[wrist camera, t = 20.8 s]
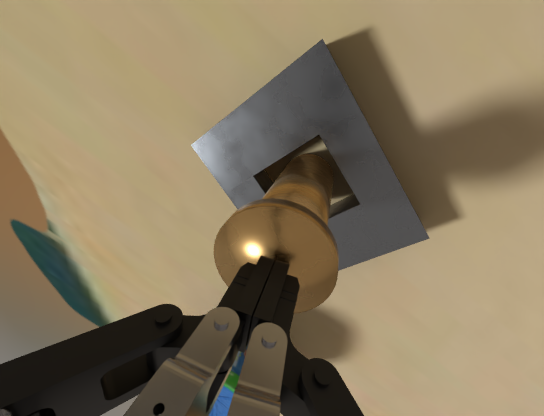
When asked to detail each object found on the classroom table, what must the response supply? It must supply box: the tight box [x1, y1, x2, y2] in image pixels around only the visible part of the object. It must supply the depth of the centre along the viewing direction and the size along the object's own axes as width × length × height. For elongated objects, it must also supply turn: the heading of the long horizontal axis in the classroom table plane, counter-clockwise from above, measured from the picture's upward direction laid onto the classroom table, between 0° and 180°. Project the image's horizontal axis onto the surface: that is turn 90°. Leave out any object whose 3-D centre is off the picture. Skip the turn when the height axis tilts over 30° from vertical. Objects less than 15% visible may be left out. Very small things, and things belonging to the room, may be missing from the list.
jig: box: [191, 39, 429, 271], centre depth 24 cm, size 18×14×3 cm
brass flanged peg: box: [214, 154, 339, 313], centre depth 20 cm, size 7×7×14 cm
